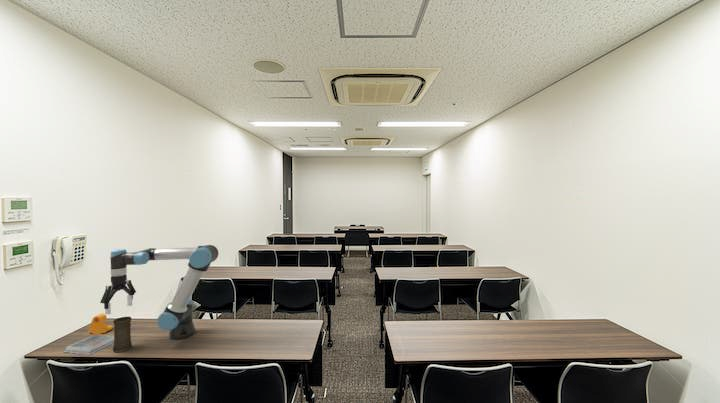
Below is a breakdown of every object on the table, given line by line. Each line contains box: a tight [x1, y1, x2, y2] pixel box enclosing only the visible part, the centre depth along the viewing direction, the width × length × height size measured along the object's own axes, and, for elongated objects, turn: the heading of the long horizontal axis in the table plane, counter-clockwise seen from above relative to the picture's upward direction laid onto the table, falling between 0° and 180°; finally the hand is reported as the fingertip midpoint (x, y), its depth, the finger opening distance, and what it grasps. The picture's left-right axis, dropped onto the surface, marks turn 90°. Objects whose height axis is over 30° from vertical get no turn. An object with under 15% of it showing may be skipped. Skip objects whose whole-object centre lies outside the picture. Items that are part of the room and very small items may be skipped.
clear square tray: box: [62, 334, 114, 356], centre depth 178 cm, size 18×18×3 cm
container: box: [112, 316, 133, 353], centre depth 176 cm, size 9×9×18 cm
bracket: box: [87, 313, 114, 335], centre depth 198 cm, size 11×7×12 cm, turn 92°
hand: (119, 309), depth 178 cm, fingers open, 13 cm apart
